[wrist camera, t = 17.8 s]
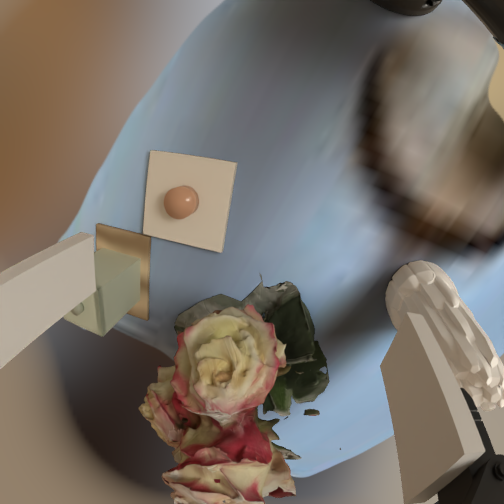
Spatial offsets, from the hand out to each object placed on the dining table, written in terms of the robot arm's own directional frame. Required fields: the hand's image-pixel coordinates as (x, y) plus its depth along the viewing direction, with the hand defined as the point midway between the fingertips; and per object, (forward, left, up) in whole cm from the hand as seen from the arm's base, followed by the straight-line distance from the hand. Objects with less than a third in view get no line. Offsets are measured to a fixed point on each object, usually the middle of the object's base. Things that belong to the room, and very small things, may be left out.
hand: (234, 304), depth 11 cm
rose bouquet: (+27, -1, -31) cm, 41 cm away
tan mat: (+19, -25, -31) cm, 44 cm away
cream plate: (+4, -14, -31) cm, 34 cm away
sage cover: (+19, -25, -30) cm, 43 cm away
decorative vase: (+10, +23, -31) cm, 40 cm away
